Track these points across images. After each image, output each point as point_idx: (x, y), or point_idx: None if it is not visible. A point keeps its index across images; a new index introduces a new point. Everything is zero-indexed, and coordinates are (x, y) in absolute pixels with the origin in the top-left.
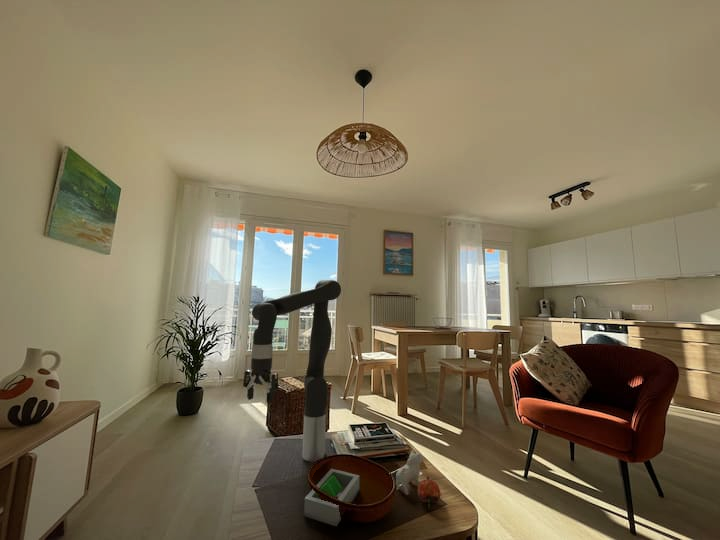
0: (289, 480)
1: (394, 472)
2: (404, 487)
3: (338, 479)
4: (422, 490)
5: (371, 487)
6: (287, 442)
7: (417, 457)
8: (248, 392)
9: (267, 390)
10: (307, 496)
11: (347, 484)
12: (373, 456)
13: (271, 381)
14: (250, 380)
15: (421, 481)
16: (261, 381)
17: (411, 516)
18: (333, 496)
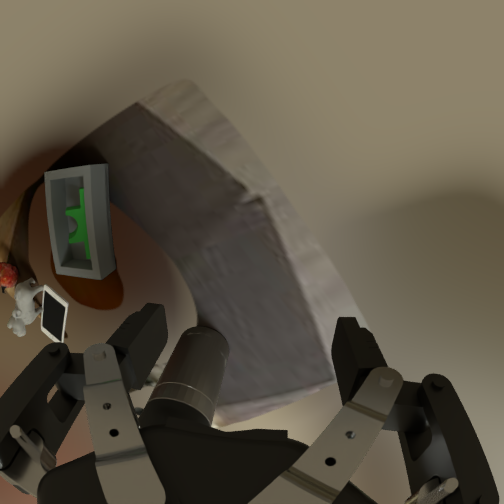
0: (193, 248)
1: (61, 325)
2: (28, 281)
3: (90, 264)
4: (1, 266)
5: (65, 279)
6: (297, 377)
7: (9, 320)
8: (366, 350)
9: (110, 358)
10: (88, 172)
11: (78, 261)
12: None
13: (24, 407)
14: (404, 458)
15: (2, 279)
16: (140, 441)
17: (15, 235)
18: (68, 207)
